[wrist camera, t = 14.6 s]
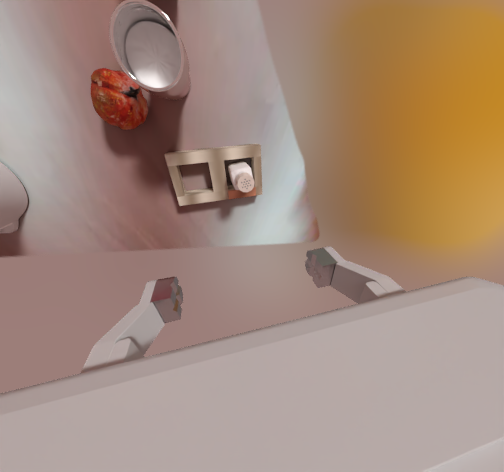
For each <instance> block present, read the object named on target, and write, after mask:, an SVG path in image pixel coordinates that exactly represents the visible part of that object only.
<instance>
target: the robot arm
mask: <svg viewBox="0 0 504 472" xmlns="http://www.w3.org/2000/svg"><path fill="white" fill-rule="evenodd" d="M27 204H28V198H27V194H26V191H25V189H24V187H23V185H22V183H21V182H20V181H19V179H18V178H17V177H16V176H15V175H14V173H13V172H12V171H11V170H9V169H8V168H7V167H6V166H5V165H4V164H2V163H1V162H0V233H12V232H14V231H16V230H17V229H18V226H19V218H20V216H21V215H22V214H23V213H24V212H25V210H26V208H27ZM307 257H308V259H307V260H306V264H305V266H306V270H307V272H308V274H309V275H310V276H312V277H313V281H314V283H315V284H316V286H317V287H318V288H320V287H325V286H330V285H331V287H333V288H335V289H336V290H338V291H339V292H341V293H342V294H344V295H346V296H347V297H349V298H350V299H352V300H353V301H355V302H357V303H358V304H355V305H351V306H348V307H344V308H340V309H335V310H332V311H328V312H324V313H320V314H316V315H312V316H308V317H304V318H300V319H296V320H292V321H288V322H284V323H280V324H276V325H272V326H268V327H264V328H260V329H256V330H252V331H248V332H244V333H240V334H236V335H232V336H229V337H224V338H220V339H216V340H212V341H208V342H204V343H200V344H196V345H192V346H188V347H184V348H180V349H176V350H172V351H168V352H164V353H160V354H156V355H152V356H148V357H144V356H143V355H144V354H145V352H146V351H147V349H148V348H149V346H150V345H151V344H152V342H153V341H154V339H155V338H156V336H157V335H158V333H159V332H160V330H161V329H162V328H163V326H164V325H165V323H167V322H171V321H175V320H179V319H181V310H182V309H181V306H180V305H181V304H182V301H183V293H182V289H181V287H180V286H179V285H178V279H177V277H170V278H164V279H158V280H154V281H148V283H146V286H145V289H144V292H143V295H142V298H141V300H140V303H139V305H137V306H135V307H134V308H133V309H132V310H131V311H130V312H129V313H128V314H127V315H126V316H125V317H123V318H122V319H121V320H120V321H119V322H118V323H117V324H116V325H115V326H114V327H113V328H112V329H111V330H110V331H109V332H108V333H107V334H106V335H104V336H103V337H102V338H101V339H100V340H99V341H98V342H97V343H96V344H95V345H94V347H93V349H92V351H91V353H90V355H89V357H88V359H87V361H86V363H85V365H84V367H83V369H82V371H81V373H80V374H77V375H73V376H69V377H65V378H61V379H57V380H53V381H49V382H45V383H41V384H37V385H33V386H29V387H25V388H21V389H17V390H13V391H9V392H5V393H1V394H0V472H504V286H503V285H500V284H497V283H493V282H490V281H486V280H483V279H479V278H475V277H464V278H459V279H455V280H451V281H447V282H443V283H439V284H435V285H431V286H427V287H423V288H419V289H415V290H411V291H408V292H406V291H405V290H404V289H403V288H401V287H400V286H399V285H398V284H397V283H395V282H394V281H393V280H392V279H391V278H390V277H388V276H385V275H383V274H380V273H378V272H375V271H372V270H370V269H367V268H365V267H362V266H360V265H357V264H354V263H352V262H349V261H345V260H344V259H343V258H342V257H341V256H340V255H339V254H338V253H337V252H336V251H335V250H334V249H333V248H332V247H330V246H328V247H324V248H320V249H314V250H309V251H307Z"/></svg>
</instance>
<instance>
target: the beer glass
mask: <svg viewBox="0 0 504 472" xmlns="http://www.w3.org/2000/svg"><path fill="white" fill-rule="evenodd" d="M109 35H110V42H111V46H112V49H113V52H114V55H115V57H116V59H117V61H118V63H119V65H120V66H121V68H122V69H123V70H124V72H125V73H126V74H127V75H128V76H129V77H130V78H131V79H132V80H133V81H134V82H135V83H136V84H138V85H139V86H140V87H141V88H143V89H144V90H146V91H147V92H149V93H150V94H152V95H154V96H157V97H161V98H167V99H170V100H181V99H183V98H184V97H185V96H186V95H187V94H188V92H189V89H190V84H191V81H190V74H189V72H190V70H189V61H188V56H187V52H186V50H185V47H184V44H183V42H182V40H181V38H180V36H179V34H178V32H177V30H176V28H175V26H174V24H173V23H172V21H171V20H170V19H169V17H168V16H167V15H166V14H165V13H164V12H163V11H162V10H161V9H160V8H158V7H157V6H156V5H154V4H153V3H151V2H149V1H146V0H124V1H123V2H121V3H120V4H119V5H118V6H117V7H116V8H115V9H114V11H113V13H112V16H111V19H110V25H109Z"/></svg>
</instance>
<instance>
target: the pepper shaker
mask: <svg viewBox="0 0 504 472" xmlns="http://www.w3.org/2000/svg"><path fill="white" fill-rule="evenodd" d="M228 171H229V175H230V179H231V182H232V184H233V186H234V188H235V190H240V191H242V192H249V191H251V190H252V189H253V187H254V183H255V181H254V179H253V175H252V171H251V168H250V166H249V165H248V164H247V163H246V162H245V161H241V162H237V163H232V164H229V165H228Z"/></svg>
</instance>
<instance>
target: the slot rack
mask: <svg viewBox="0 0 504 472" xmlns="http://www.w3.org/2000/svg"><path fill="white" fill-rule="evenodd" d="M164 156H165V159H166V162H167V166H168V169H169V172H170V176H171V179H172V182H173V186H174V189H175V192H176V196H177V199H178V202H179V205H180V206H184V205H191V204H198V203H205V202H212V201H219V200H226V199H235V198H242V197H249V196H256V195H261V194H262V174H261V145H259V144H248V145H238V146H228V147H218V148H208V149H198V150H187V151H177V152H167V153H166V154H165V155H164ZM250 157H251V170H252V175H253V179H254V181H255V183H254V187H253V189H252V190H251V191H249V192H242V191H240V190H235V188H234V186H233V185H230V186H227V180H226V173H225V166H224V160H232V159H241V158H250ZM204 162H208V163H209V169H210V174H211V180H212V185H213V188H207V189H200V190H192V191H185V187H184V183H183V180H182V176H181V172H180V168H179V165H186V164H195V163H204Z"/></svg>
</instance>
